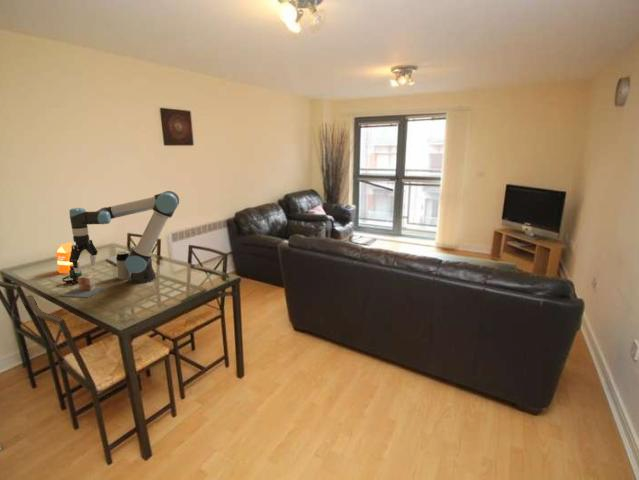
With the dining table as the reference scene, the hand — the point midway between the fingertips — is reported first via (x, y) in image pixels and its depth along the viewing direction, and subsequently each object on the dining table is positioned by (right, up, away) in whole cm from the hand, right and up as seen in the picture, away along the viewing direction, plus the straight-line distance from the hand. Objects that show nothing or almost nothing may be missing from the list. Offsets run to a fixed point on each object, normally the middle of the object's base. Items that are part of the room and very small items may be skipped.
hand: (85, 269), depth 198 cm
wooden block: (-1, -12, +3) cm, 13 cm away
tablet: (-12, 0, +59) cm, 60 cm away
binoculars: (-17, -10, +12) cm, 23 cm away
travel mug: (+9, -8, +25) cm, 28 cm away
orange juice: (-35, -4, +33) cm, 48 cm away
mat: (-1, -14, -1) cm, 14 cm away
